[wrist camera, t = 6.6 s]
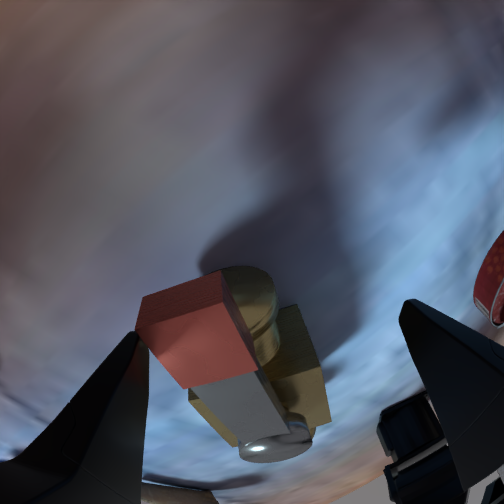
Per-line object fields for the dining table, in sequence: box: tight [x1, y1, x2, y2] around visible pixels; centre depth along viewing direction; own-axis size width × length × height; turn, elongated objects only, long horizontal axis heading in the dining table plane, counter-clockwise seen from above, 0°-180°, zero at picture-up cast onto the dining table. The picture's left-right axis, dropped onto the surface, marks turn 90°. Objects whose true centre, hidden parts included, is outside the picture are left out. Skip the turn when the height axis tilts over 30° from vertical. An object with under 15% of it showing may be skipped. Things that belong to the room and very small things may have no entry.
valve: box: [188, 266, 332, 447], centre depth 18 cm, size 7×15×6 cm, turn 16°
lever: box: [135, 270, 312, 463], centre depth 12 cm, size 13×4×2 cm, turn 18°
